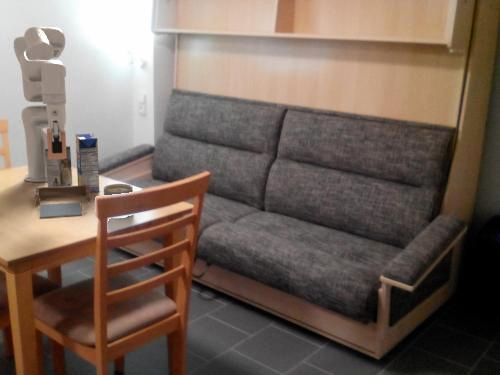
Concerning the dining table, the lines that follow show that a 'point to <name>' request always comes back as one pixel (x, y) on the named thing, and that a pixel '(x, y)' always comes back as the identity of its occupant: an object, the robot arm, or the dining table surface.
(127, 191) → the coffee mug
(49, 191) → the frame
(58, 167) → the coffee box
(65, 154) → the block
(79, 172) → the beverage box
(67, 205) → the mat
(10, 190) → the dining table surface
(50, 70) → the robot arm
